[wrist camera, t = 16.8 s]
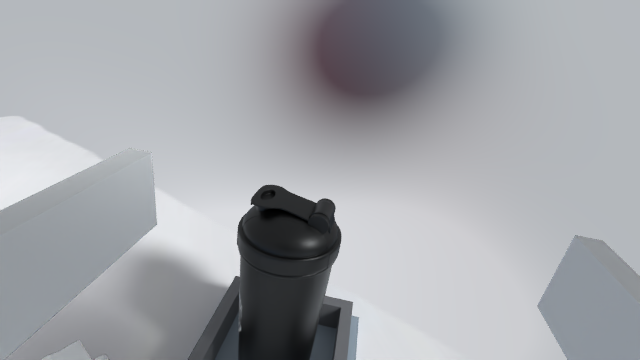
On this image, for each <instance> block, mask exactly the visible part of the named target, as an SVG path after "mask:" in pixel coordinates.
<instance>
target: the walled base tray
mask: <svg viewBox="0 0 640 360" xmlns="http://www.w3.org/2000/svg"><path fill="white" fill-rule="evenodd" d="M239 283H240V277H238V276H236V277H235V278H234V280H233V282H232V284H231V285H230V287H229V289H228V290H227V292H226V294H225V296H224V297H223V299H222V301H221V303H220V304H219V306H218V308H217V310H216V311H215V313H214V315H213V316H212V318H211V320H210V322H209V323H208V325H207V327H206V329H205V330H204V332H203V334H202V336H201V337H200V339H199V341H198V342H197V344H196V346H195V348H194V349H193V351H192V353H191V355H190V356H189V358H188V360H238V341H239V334H238V326H239V325H238V322H239V288H240V287H239ZM352 305H353V302H350V301H346V300H341V299H337V298H332V297H328V296H325V297H324V301H323V305H322V310H321V314H320V318H319V322H318V327H317V331H316V335H315V340H314V344H313V348H312V352H311V357H310V360H356V348H357V334H358V320H359V317H355V316H351V315H352Z"/></svg>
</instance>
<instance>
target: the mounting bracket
mask: <svg viewBox="0 0 640 360" xmlns="http://www.w3.org/2000/svg"><path fill="white" fill-rule="evenodd" d="M41 360H92V359H91V357H90V355H89V354H88V352H87V351H86V349H85V347H84V346H83V344H82V343H81V341H80V340H77V341H76V342H74V343H72V344H70V345H69V346H67V347H65V348H63V349H62V350H60V351H58V352H56V353H53V354H49V355H48V356H46V357H44V358H42V359H41ZM94 360H109V358H108V356H107V355H106V354H104V355H101V356H99V357H97V358H95V359H94Z"/></svg>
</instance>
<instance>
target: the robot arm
mask: <svg viewBox="0 0 640 360" xmlns="http://www.w3.org/2000/svg"><path fill="white" fill-rule="evenodd" d="M156 225H157V219H156V204H155V190H154V176H153V162H152V152H148V151H142V150H138V149H132V148H129V149H127V150H125V151H123V152H120V153H119V154H116V155H114V156H112V157H111V158H108V159H106V160H104V161H102V162H100V163H98V164H96V165H94V166H92V167H90V168H87V169H85V170H83V171H81V172H79V173H77V174H75V175H73V176H71V177H69V178H67V179H65V180H63V181H61V182H59V183H57V184H54V185H52V186H50V187H48V188H46V189H44V190H42V191H40V192H38V193H36V194H34V195H32V196H30V197H28V198H26V199H23V200H21V201H19V202H17V203H15V204H13V205H11V206H9V207H7V208H5V209H3V210H1V211H0V360H5V359H6V358H7V357H8V356H9V355H10V354H11V353H13V352H14V351H15V350H16V349H17V348H18V347H19V346H20V345H22V344H23V343H24V342H25V341H26V340H27V339H28V338H29V337H31V336H32V335H33V334H34V333H35V332H36V331H37V330H38V329H40V328H41V327H42V326H43V325H44V324H45V323H46V322H47V321H49V320H50V319H51V318H52V317H53V316H54V315H55V314H57V313H58V312H59V311H60V310H61V309H62V308H63V307H64V306H66V305H67V304H68V303H69V302H70V301H71V300H72V299H73V298H75V297H76V296H77V295H78V294H79V293H80V292H81V291H82V290H84V289H85V288H86V287H87V286H88V285H89V284H90V283H91V282H93V281H94V280H95V279H96V278H97V277H98V276H99V275H100V274H102V273H103V272H104V271H105V270H106V269H107V268H108V267H109V266H111V265H112V264H113V263H114V262H115V261H116V260H117V259H119V258H120V257H121V256H122V255H123V254H124V253H125V252H126V251H128V250H129V249H130V248H131V247H132V246H133V245H134V244H135V243H137V242H138V241H139V240H140V239H141V238H142V237H143V236H144V235H146V234H147V233H148V232H149V231H150V230H151V229H152V228H153V227H155V226H156ZM538 308H539V310H540V312H541V314H542V315H543V317H544V319H545V321H546V322H547V324H548V326H549V328H550V329H551V331H552V333H553V335H554V337H555V338H556V340H557V342H558V344H559V345H560V347H561V349H562V351H563V352H564V354H565V356H566V358H567V360H640V276H639V275H638V274H637V273H636V272H635V271H634V270H633V269H632V268H631V267H630V266H629V265H627V263H625V262H624V261H623V260H622V259H621V258H620V257H619V256H618V255H617V254H616V253H615V252H614V251H613V250H612V249H611V248H610V247H609V246H608V245H607V244H606V243H605V242H603V241H602V240H597V239H592V238H586V237H582V236H576V235H575V236H574V238H573V240H572V242H571V244H570V246H569V248H568V249H567V251H566V253H565V255H564V257H563V259H562V261H561V263H560V264H559V266H558V268H557V270H556V272H555V274H554V276H553V277H552V279H551V281H550V283H549V285H548V287H547V289H546V291H545V293H544V294H543V296H542V298H541V300H540V302H539V303H538Z"/></svg>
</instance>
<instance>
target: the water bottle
mask: <svg viewBox="0 0 640 360" xmlns="http://www.w3.org/2000/svg"><path fill="white" fill-rule="evenodd" d="M252 204H253V205H254V206H253V207H252V208H251V209H250V210H249V211H248V212H247V213H246V214H245V215H244V216H243V217H242V219H241V220H240V222H239V225H238V235H237V245H238V248H239V252H240V255H241V259H240V283H239V287H240V288H239V322H238V325H239V326H238V334H239V341H238V360H310V357H311V352H312V348H313V344H314V340H315V335H316V331H317V327H318V322H319V318H320V314H321V310H322V305H323V301H324V297H325V293H326V288H327V284H328V280H329V275H330V271H331V267H332V265H333V263H334V261H335V260H336V258H337V256H338V253H339V248H340V244H341V231H340V229H339V227H338V226H337V224H336V222H335V218H334V212H335V205H334V203H333V202H332V201H331V200H329V199H321V200H319V201H318V202H317V203H315V202H313V201H310V200H307V199H305V198H303V197H300V196H297V195H295V194H293V193H290V192H289V191H287V190H286V189H284V188H282V187H280V186H276V185H265V186H263V187H261V188H260V189H259V190H258V191H257V192H256V193H255V195H254V196H253V197H252V199H251V205H252Z"/></svg>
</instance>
